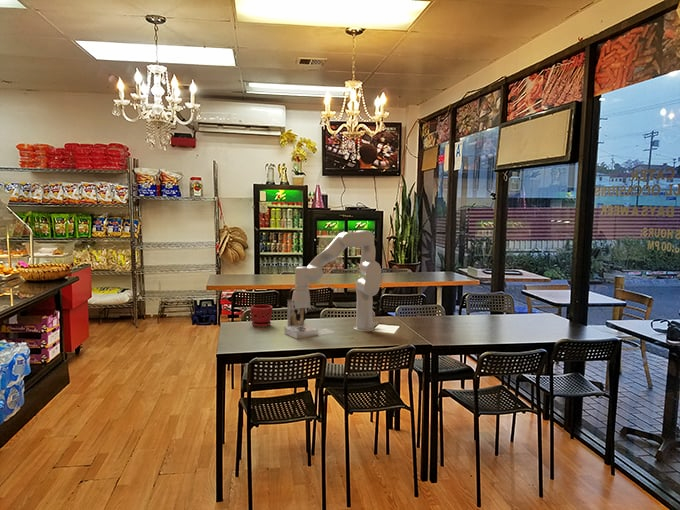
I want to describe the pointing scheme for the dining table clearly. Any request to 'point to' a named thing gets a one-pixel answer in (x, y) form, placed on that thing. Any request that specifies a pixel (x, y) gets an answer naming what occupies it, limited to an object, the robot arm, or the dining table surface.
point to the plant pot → (261, 315)
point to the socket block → (300, 331)
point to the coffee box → (292, 315)
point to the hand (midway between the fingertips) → (300, 319)
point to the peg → (301, 316)
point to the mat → (325, 331)
